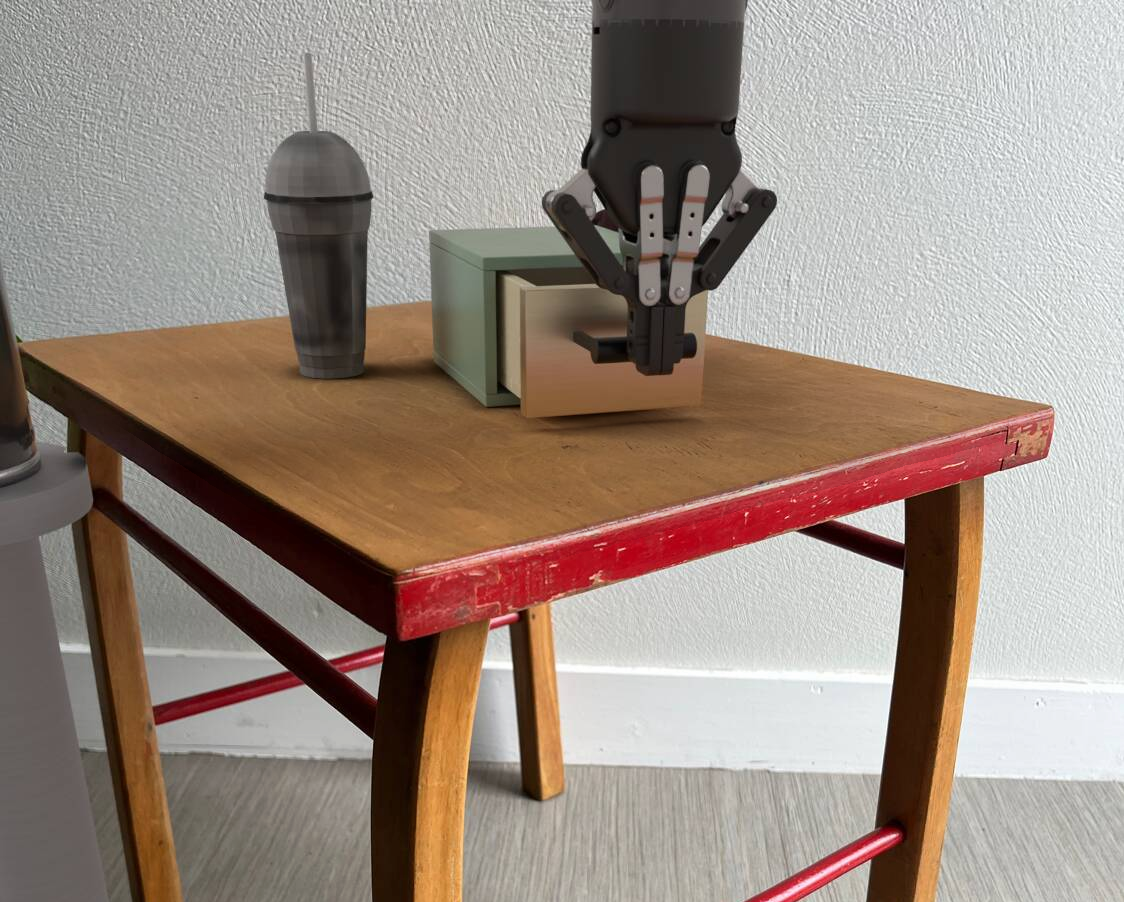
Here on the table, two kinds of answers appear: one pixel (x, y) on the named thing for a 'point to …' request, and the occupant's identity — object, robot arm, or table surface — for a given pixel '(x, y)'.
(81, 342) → the table surface
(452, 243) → the drawer cabinet
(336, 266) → the beverage cup
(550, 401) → the wooden drawer
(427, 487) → the table surface
